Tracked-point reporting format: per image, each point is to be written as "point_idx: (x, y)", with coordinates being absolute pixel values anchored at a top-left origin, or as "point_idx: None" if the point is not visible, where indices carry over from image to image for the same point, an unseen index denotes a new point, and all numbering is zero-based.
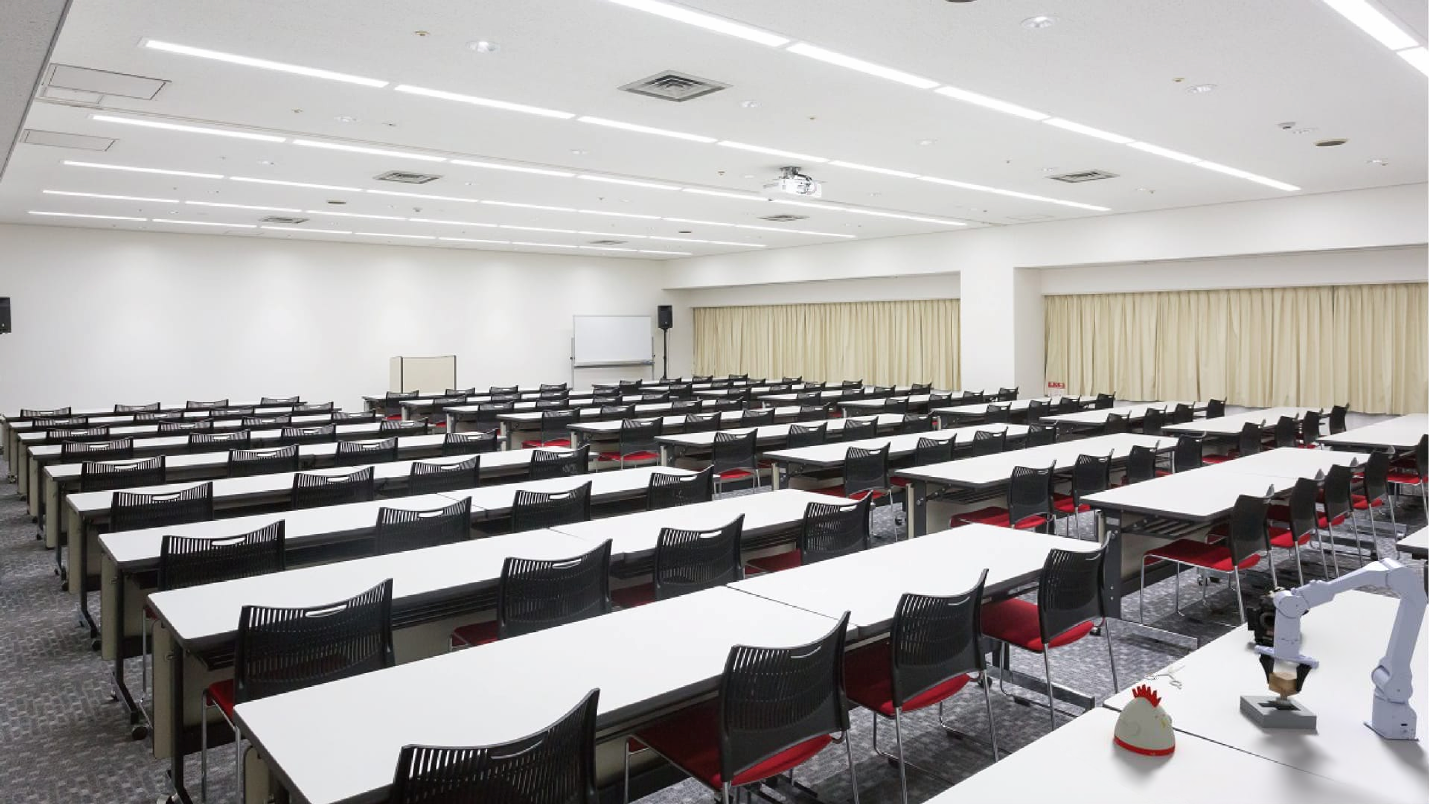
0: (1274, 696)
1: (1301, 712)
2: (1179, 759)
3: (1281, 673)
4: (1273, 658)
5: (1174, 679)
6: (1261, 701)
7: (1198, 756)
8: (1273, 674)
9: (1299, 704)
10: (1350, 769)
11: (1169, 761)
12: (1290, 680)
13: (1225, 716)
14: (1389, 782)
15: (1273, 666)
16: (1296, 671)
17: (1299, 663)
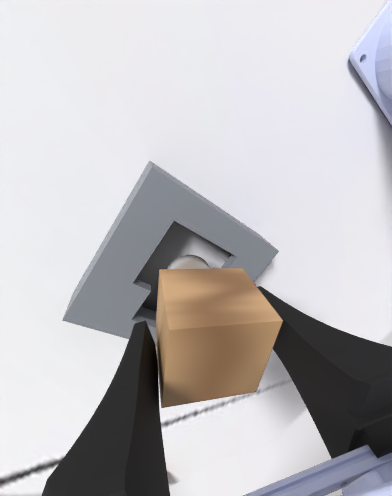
0: (121, 226)
1: (242, 267)
2: (179, 469)
3: (195, 362)
4: (142, 480)
5: None
6: (131, 301)
7: (187, 453)
8: (179, 399)
9: (212, 216)
10: (342, 327)
11: (176, 478)
12: (258, 375)
13: (103, 355)
14: (388, 314)
15: (139, 393)
16: (319, 432)
17: (362, 460)
